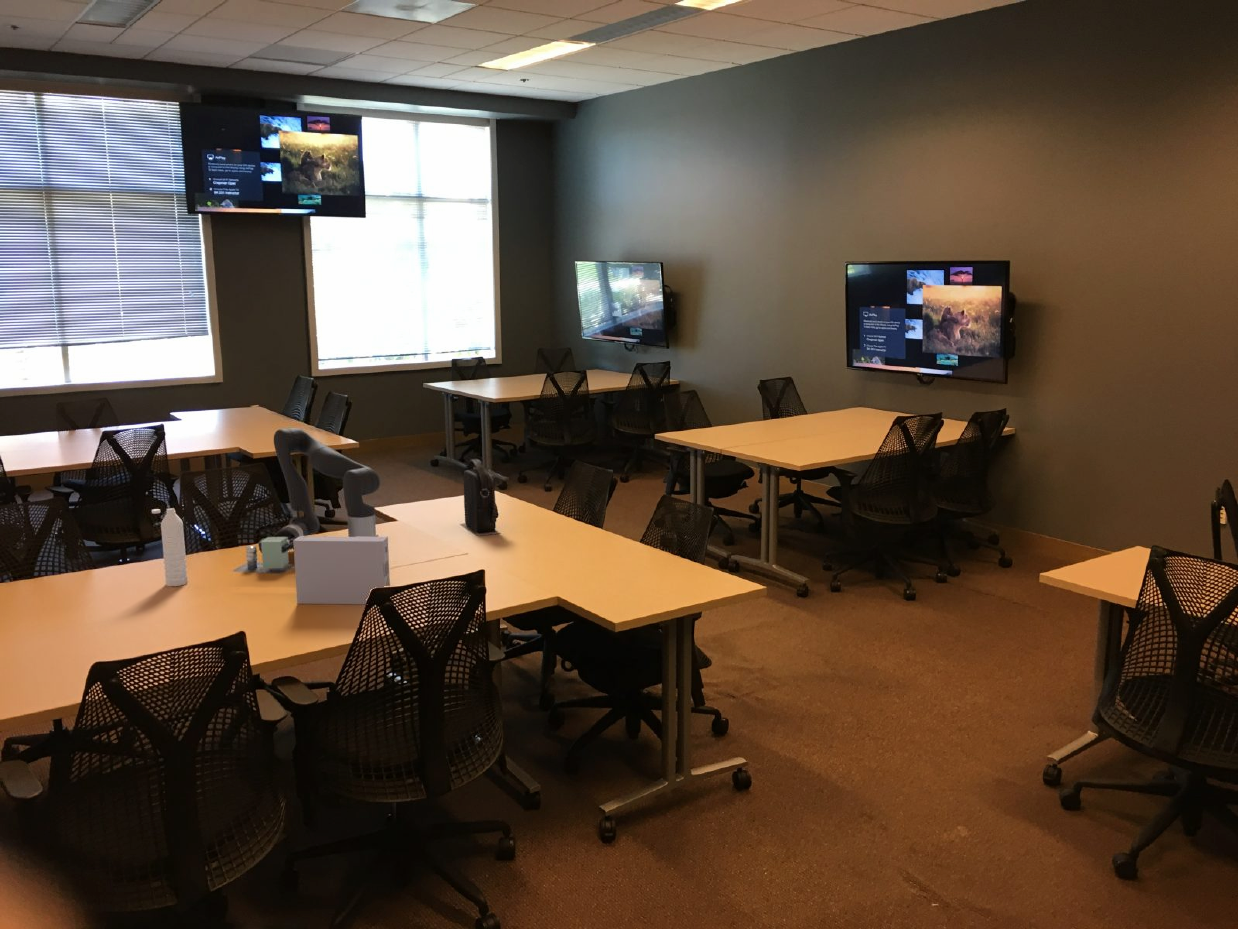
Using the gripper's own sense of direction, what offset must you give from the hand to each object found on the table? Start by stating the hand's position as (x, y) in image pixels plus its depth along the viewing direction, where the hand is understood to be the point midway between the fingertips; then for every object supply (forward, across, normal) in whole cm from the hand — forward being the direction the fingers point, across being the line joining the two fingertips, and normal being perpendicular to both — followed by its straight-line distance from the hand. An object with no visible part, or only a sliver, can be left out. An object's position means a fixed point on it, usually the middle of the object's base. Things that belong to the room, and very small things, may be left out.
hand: (272, 549), depth 328 cm
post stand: (-3, -4, +8) cm, 10 cm away
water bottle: (+11, -29, +9) cm, 32 cm away
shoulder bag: (-63, +59, +9) cm, 87 cm away
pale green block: (-2, 0, +6) cm, 6 cm away
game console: (+27, +31, +9) cm, 42 cm away
